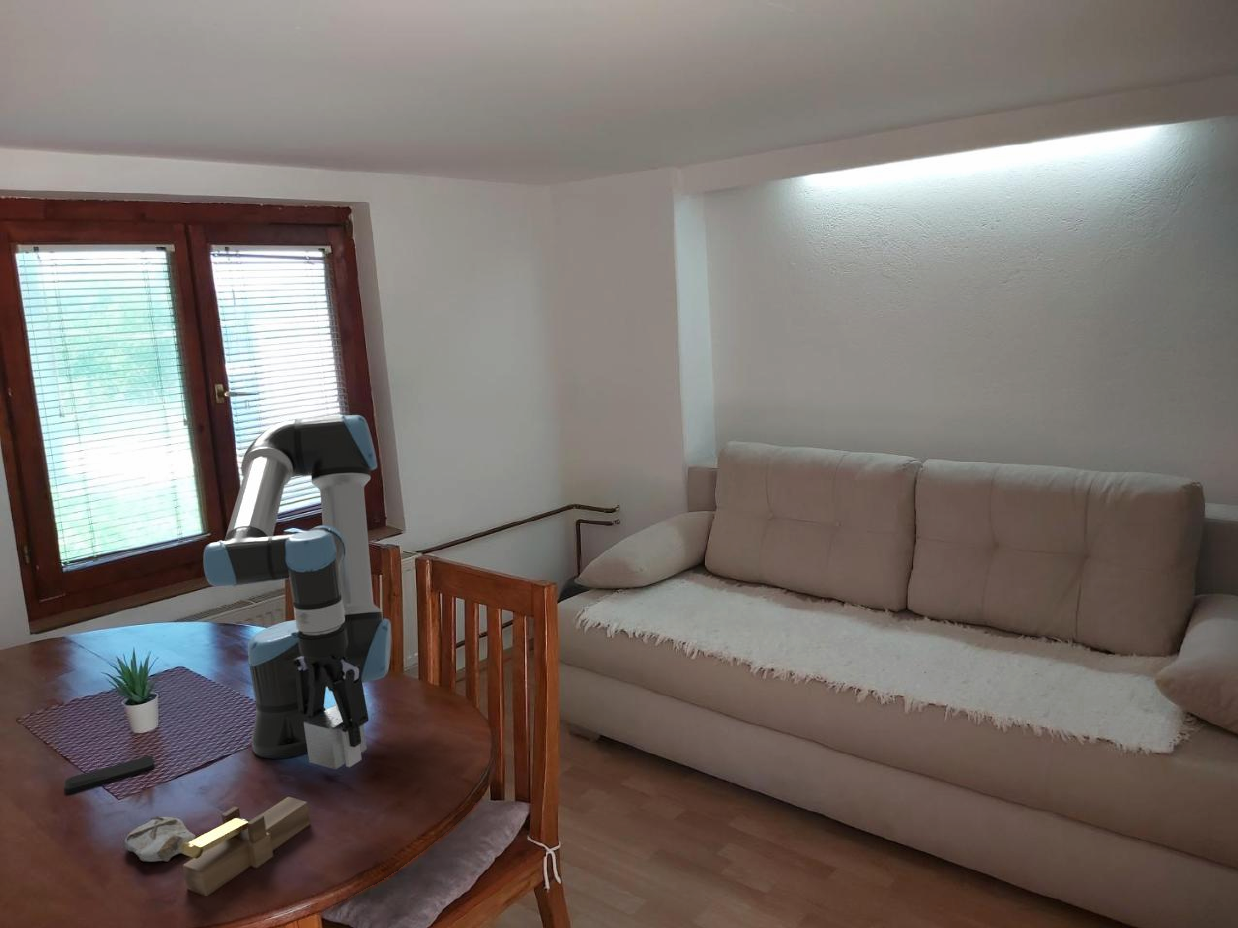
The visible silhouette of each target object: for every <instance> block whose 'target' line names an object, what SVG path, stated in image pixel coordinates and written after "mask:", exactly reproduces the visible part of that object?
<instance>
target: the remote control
mask: <svg viewBox="0 0 1238 928" xmlns="http://www.w3.org/2000/svg"><path fill="white" fill-rule="evenodd" d="M155 768H156V765H155V760H154V758H153V755H147V756H143V757H140V758H136V759H135V758H134V759H132V760H129V761H125V762H121V763H117V764H115V765H110V766H107V767H103V768H99V769H96V770H92V771H89V772H85V773H81V774H77V775H73V776H71V777H67V778H66V779H65V782H64V785H65V786H64V789H65V790H64V792H65V794H67V795H70V794H74V793H77V792H80V791H81V792H82V791H85V790H87V789H88V790H89V789H90V788H94V787H99V786H101V785H106V784H109V783H112V782H114V781H115V782H116V781H119V780H122V779H125V778H129V777H132V776H135V775H139V774H144V773H146V772H147V773H148V772H150V771H152V770H154V769H155Z"/></svg>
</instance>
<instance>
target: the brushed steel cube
mask: <svg viewBox="0 0 1238 928" xmlns="http://www.w3.org/2000/svg"><path fill="white" fill-rule="evenodd" d="M351 720H352V719H351ZM351 720H350V721H351ZM344 727H345V726H344V723H343V720H342V718H341V715H340V712H339V709H338V707H337V704H334V705H332V706H331V707H329V708H327V709H326V710H325V711H323V712H322V713H320V714H318V715H316V716H315V717H313V718H311V719H309V720H308V721H306V722H304V729H305V736H306V743H307V750H308V752H307V755H308V762H309V763H312V764H315V765H317V766H323V767H326V768H329V769H334V770H337V769H339V768H340V767H342V766H344V765H346V760H345V753H344V745H343V738H342V729H343V728H344ZM359 728H360V736H361V744H360V751H361V754H362V753H364V752H365V751H367V750H368V748H367V740H366V732H365V725H364V724H363V725H361V726H360V727H359Z"/></svg>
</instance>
